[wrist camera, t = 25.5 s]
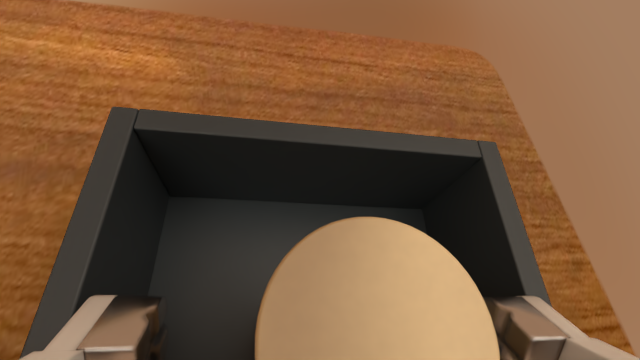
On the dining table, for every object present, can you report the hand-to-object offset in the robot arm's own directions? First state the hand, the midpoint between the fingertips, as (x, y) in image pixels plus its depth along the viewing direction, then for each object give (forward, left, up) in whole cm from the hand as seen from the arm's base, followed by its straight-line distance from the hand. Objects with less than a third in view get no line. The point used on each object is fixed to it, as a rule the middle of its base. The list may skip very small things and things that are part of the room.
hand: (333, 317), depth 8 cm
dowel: (0, +1, -5) cm, 5 cm away
